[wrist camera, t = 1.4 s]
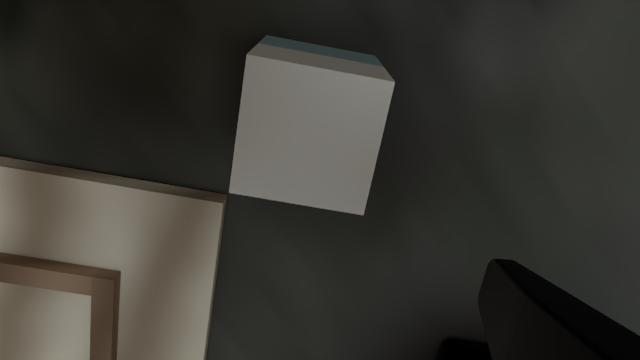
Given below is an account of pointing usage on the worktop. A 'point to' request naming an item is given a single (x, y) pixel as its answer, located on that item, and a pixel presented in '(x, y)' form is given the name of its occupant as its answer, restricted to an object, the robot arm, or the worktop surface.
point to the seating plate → (104, 265)
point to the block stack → (310, 124)
